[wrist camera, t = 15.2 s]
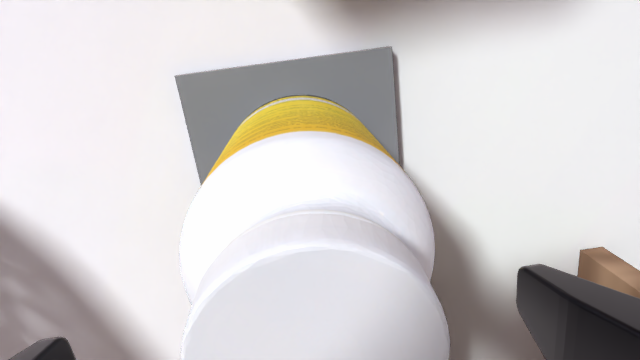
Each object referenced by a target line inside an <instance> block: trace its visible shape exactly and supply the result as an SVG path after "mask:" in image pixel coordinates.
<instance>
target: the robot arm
mask: <svg viewBox="0 0 640 360" xmlns="http://www.w3.org/2000/svg"><path fill="white" fill-rule="evenodd" d="M516 303H517V308H518V311H519V313H520V315H521V317H522V319H523V321H524V322H525V324H526V326H527V328H528V329H529V331H530V333H531V335H532V336H533V338H534V340H535V342H536V343H537V345H538V347H539V349H540V350H541V352H542V354H543V356H544V357H545V359H546V360H640V299H639V298H637V297H634V296H631V295H628V294H625V293H622V292H619V291H617V290H614V289H611V288H608V287H605V286H602V285H599V284H597V283H594V282H591V281H588V280H585V279H582V278H580V277H577V276H574V275H571V274H568V273H565V272H562V271H560V270H557V269H554V268H551V267H548V266H545V265H542V264H536V265H530V266H523V267H521V268H520V269H519V271H518V275H517V298H516ZM9 360H76V358H75V356H74V354H73V351H72V349H71V346H70V344H69V342H68V340H67V339H66V338H64V337H56V338H49V339H43V340H40V341H38V342H36V343H34V344H33V345H31V346H30V347H28V348H26V349H25V350H23V351H22V352H20V353H18V354H17V355H15V356H14V357H12V358H10V359H9Z"/></svg>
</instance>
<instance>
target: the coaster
mask: <svg viewBox="0 0 640 360" xmlns="http://www.w3.org/2000/svg"><path fill="white" fill-rule="evenodd" d="M175 79H176V83H177V87H178V92H179V96H180V100H181V104H182V108H183V112H184V116H185V121H186V125H187V129H188V133H189V137H190V141H191V145H192V150H193V154H194V158H195V162H196V166H197V170H198V174H199V179H200V183H201V185H202V184H203V182H204V181H205V179H206V177H207V176H208V174H209V172H210V171H211V169H212V168H213V166H214V164H215V163H216V161H217V160H218V158H219V157H220V155H221V153H222V152H223V150H224V149H225V147H226V145H227V144H228V142H229V141H230V139H231V138H232V136H233V134H234V133H235V131H236V130H237V128H238V127H239V125H240V124H241V123H242V122H243V121H244V120H245V119H246V118H247V116H248V115H249V114H251V113H252V112H253V111H254V110H256V109H257V108H258V107H260V106H262V105H263V104H265V103H267V102H269V101H271V100H274V99H276V98H280V97H283V96H288V95H298V94H307V95H315V96H320V97H324V98H327V99H330V100H332V101H334V102H336V103H338V104H340V105H342V106H343V107H345V108H346V109H348V110H349V111H350V112H351V113H352V114H353V115H355V116H356V117H357V118H358V119H359V120H360V122H361V123H362V124H363V125H364V126H365V127H366V128H367V129H368V130H369V132H370V133H371V134H372V135H373V136H374V137H375V138H376V139H377V140H378V141H379V143H380V144H381V145H382V146H383V147H384V148H385V150H386V151H387V152H388V153H389V154H390V155H391V156H392V157H393V159H394V160H395V161H396V162H397V163H398V164H399V152H398V136H397V120H396V104H395V88H394V72H393V57H392V47H381V48H374V49H366V50H359V51H352V52H344V53H337V54H329V55H322V56H315V57H307V58H300V59H292V60H285V61H278V62H270V63H263V64H255V65H248V66H241V67H233V68H226V69H219V70H211V71H204V72H196V73H189V74H182V75H176V76H175Z"/></svg>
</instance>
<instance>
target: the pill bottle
mask: <svg viewBox="0 0 640 360" xmlns="http://www.w3.org/2000/svg"><path fill="white" fill-rule="evenodd" d="M434 257H435V240H434V231H433V226H432V222H431V218H430V215H429V212H428V209H427V207H426V204H425V202H424V200H423V198H422V196H421V194H420V192H419V191H418V189H417V188H416V186H415V185H414V183H413V182H412V180H411V179H410V177H409V176H408V175H407V174H406V173H405V171H404V170H403V169H402V168H401V166H400V165H399V164H398V163H397V162H396V161H395V160H394V159H393V157H392V156H391V155H390V154H389V153H388V152H387V151H386V150H385V148H384V147H383V146H382V145H381V144H380V143H379V141H378V140H377V139H376V138H375V137H374V136H373V135H372V134H371V133H370V132H369V130H368V129H367V128H366V127H365V126H364V125H363V124H362V123H361V122H360V120H359V119H358V118H357V117H356V116H355V115H353V114H352V113H351V112H350V111H349V110H348V109H346V108H345V107H343V106H342V105H340V104H338V103H336V102H334V101H332V100H330V99H327V98H324V97H320V96H315V95H307V94H298V95H288V96H283V97H280V98H276V99H274V100H271V101H269V102H267V103H265V104H263V105H262V106H260V107H258V108H257V109H256V110H254V111H253V112H252V113H251V114H249V115H248V116H247V118H246V119H245V120H244V121H243V122H242V123H241V124H240V125H239V127H238V128H237V130H236V131H235V133H234V134H233V136H232V138H231V139H230V141H229V142H228V144H227V145H226V147H225V149H224V150H223V152H222V153H221V155H220V157H219V158H218V160H217V161H216V163H215V164H214V166H213V168H212V169H211V171H210V172H209V174H208V176H207V177H206V179H205V181H204V182H203V184H202V185H201V187H200V188H199V190H198V192H197V194H196V195H195V197H194V199H193V201H192V203H191V205H190V207H189V210H188V212H187V215H186V218H185V221H184V224H183V227H182V233H181V238H180V250H179V258H180V270H181V276H182V280H183V284H184V288H185V291H186V293H187V296H188V299H189V301H190V303H191V305H192V307H191V310H190V314H189V317H188V320H187V323H186V326H185V330H184V333H183V339H182V345H181V360H449V352H450V337H449V330H448V323H447V320H446V317H445V314H444V311H443V307H442V305H441V303H440V301H439V299H438V297H437V295H436V293H435V291H434V289H433V288H432V286H431V284H430V280H431V276H432V272H433V267H434Z"/></svg>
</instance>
